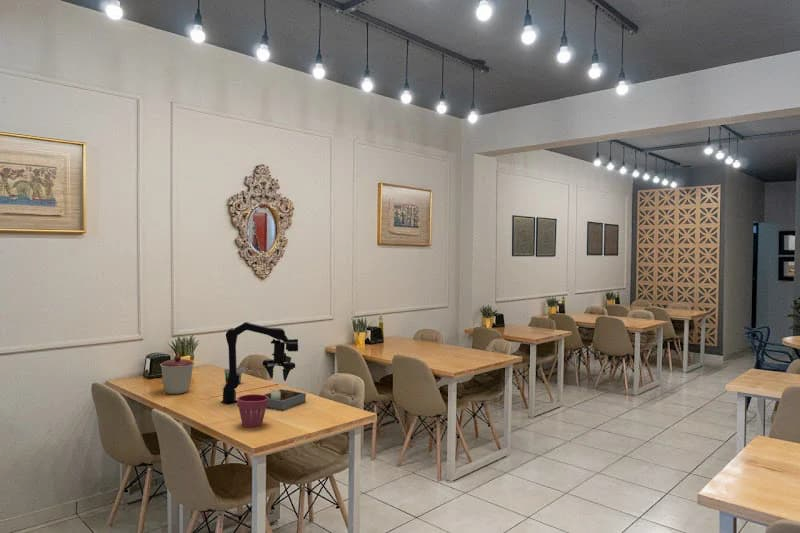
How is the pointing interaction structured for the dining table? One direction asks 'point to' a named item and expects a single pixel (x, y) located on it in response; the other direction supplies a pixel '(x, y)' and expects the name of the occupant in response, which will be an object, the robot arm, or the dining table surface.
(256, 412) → the plant pot
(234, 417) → the dining table surface
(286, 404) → the tote
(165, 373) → the canister
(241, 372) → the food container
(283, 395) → the walnut cube
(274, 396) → the sage cylinder
